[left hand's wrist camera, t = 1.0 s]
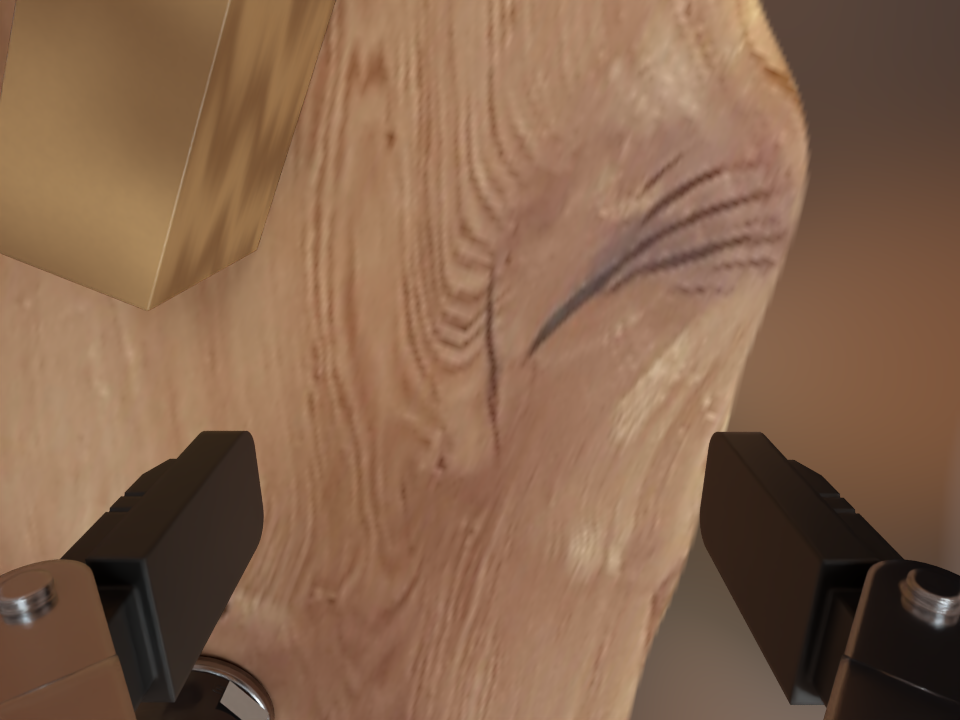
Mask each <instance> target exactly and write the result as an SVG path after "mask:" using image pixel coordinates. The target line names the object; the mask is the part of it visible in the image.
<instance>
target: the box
mask: <svg viewBox="0 0 960 720" xmlns="http://www.w3.org/2000/svg"><path fill="white" fill-rule="evenodd" d="M335 1H336V0H16V3H15V9H14V15H13V21H12V27H11V34H10V40H9V46H8V52H7V59H6V65H5V71H4V77H3V83H2V90H1V96H0V253H1V254H3V255H6V256H8V257H11V258H13V259H16V260H18V261H21V262H24V263H26V264H29V265H31V266H34V267H36V268H39V269H41V270H44V271H46V272H49V273H52V274H54V275H57V276H59V277H62V278H64V279H67V280H69V281H72V282H75V283H77V284H80V285H82V286H85V287H87V288H90V289H92V290H95V291H97V292H100V293H103V294H105V295H108V296H110V297H113V298H115V299H118V300H120V301H123V302H125V303H128V304H131V305H133V306H136V307H138V308H141V309H143V310H146V311H149V310H151V309H153V308H155V307H156V306H158V305H160V304H162V303H163V302H165V301H167V300H169V299H171V298H172V297H174V296H176V295H178V294H179V293H181V292H183V291H185V290H187V289H188V288H190V287H192V286H194V285H195V284H197V283H199V282H201V281H203V280H204V279H206V278H208V277H210V276H211V275H213V274H215V273H217V272H219V271H220V270H222V269H224V268H226V267H227V266H229V265H231V264H233V263H235V262H236V261H238V260H240V259H242V258H243V257H245V256H247V255H249V254H251V253H252V252H254V251H256V250H257V247H258V244H259V241H260V238H261V235H262V232H263V228H264V225H265V222H266V219H267V216H268V213H269V209H270V206H271V203H272V200H273V197H274V194H275V190H276V187H277V184H278V181H279V178H280V175H281V172H282V168H283V165H284V162H285V159H286V156H287V153H288V149H289V146H290V143H291V140H292V137H293V134H294V130H295V127H296V124H297V121H298V118H299V115H300V111H301V108H302V105H303V102H304V99H305V96H306V92H307V89H308V86H309V83H310V80H311V77H312V74H313V70H314V67H315V64H316V61H317V58H318V55H319V51H320V48H321V45H322V42H323V39H324V36H325V32H326V29H327V26H328V23H329V20H330V17H331V13H332V10H333V7H334V4H335Z"/></svg>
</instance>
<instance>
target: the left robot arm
mask: <svg viewBox="0 0 960 720" xmlns="http://www.w3.org/2000/svg"><path fill="white" fill-rule="evenodd" d="M263 518H264V514H263V503H262V496H261V488H260V481H259V474H258V466H257V459H256V452H255V445H254V440H253V438H252V435H251V434H250V433H249V432H248V431H203V432H201V433H200V434H199V435H198V436H197V437H196V438H195V439H194V440H193V442H192V443H191V444H190V445H189V446H188V447H187V448H186V449H185V450H184V451H183V452H182V453H181V455H180V456H179V457H178V458H177V459H169V460H167V461H165V462H163V463H162V464H160V465H158V466H156V467H155V468H153V469H151V470H149V471H148V472H146V473H144V474H142V475H141V477H140V478H139V479H138V480H137V481H136V482H135V483H134V484H133V485H132V486H131V487H130V488H129V489H128V490H127V491H126V492H125V496H121V497H120V498H119V499H118V500H117V501H116V502H115V503H114V504H113V505H112V506H111V507H110V511H109V512H105V513H104V514H103V515H102V517H101V518H100V519H99V520H98V521H97V522H96V523H95V524H94V525H93V526H92V527H91V528H90V529H89V530H88V531H87V532H86V533H85V534H84V535H83V536H82V537H81V538H80V539H79V540H78V541H77V542H76V543H75V544H74V545H73V546H72V547H71V548H70V549H69V550H68V551H67V552H66V553H65V554H64V556H63V557H62V558H61V559H60V560H48V561H42V562H38V563H33V564H30V565H26V566H23V567H20V568H17V569H15V570H12V571H10V572H7V573H5V574H3V575H1V576H0V720H274V709H273V705H272V702H271V700H270V697H269V696H268V694H267V692H266V691H265V689H264V688H263V687H262V686H261V684H260V683H259V682H258V681H257V680H256V679H255V678H253V677H252V676H251V675H250V674H248V673H247V672H245V671H244V670H242V669H240V668H238V667H236V666H234V665H232V664H230V663H227V662H225V661H221V660H218V659H214V658H209V657H202V656H200V654H201V652H202V650H203V648H204V646H205V644H206V642H207V641H208V639H209V637H210V635H211V633H212V631H213V629H214V627H215V625H216V624H217V622H218V620H219V618H220V616H221V614H222V612H223V610H224V609H225V607H226V605H227V603H228V601H229V599H230V597H231V595H232V594H233V592H234V590H235V588H236V586H237V584H238V582H239V580H240V578H241V577H242V575H243V573H244V571H245V569H246V567H247V565H248V563H249V562H250V560H251V558H252V556H253V554H254V552H255V550H256V548H257V546H258V544H259V542H260V538H261V534H262V529H263ZM700 528H701V534H702V538H703V542H704V545H705V547H706V549H707V551H708V553H709V554H710V556H711V558H712V560H713V562H714V564H715V566H716V567H717V569H718V571H719V573H720V575H721V577H722V579H723V580H724V582H725V584H726V586H727V588H728V590H729V592H730V593H731V595H732V597H733V599H734V601H735V603H736V605H737V606H738V608H739V610H740V612H741V614H742V616H743V618H744V619H745V621H746V623H747V625H748V627H749V629H750V631H751V632H752V634H753V636H754V638H755V640H756V642H757V644H758V645H759V647H760V649H761V651H762V653H763V655H764V657H765V658H766V660H767V662H768V664H769V666H770V668H771V670H772V671H773V673H774V675H775V677H776V679H777V681H778V683H779V684H780V686H781V688H782V690H783V692H784V694H785V696H786V697H787V699H788V701H789V703H790V705H825V706H826V708H827V709H826V713H825V716H824V719H823V720H960V576H959V575H957V574H955V573H952V572H950V571H948V570H945V569H942V568H940V567H937V566H934V565H930V564H927V563H922V562H918V561H912V560H904V559H903V558H902V557H901V556H900V555H899V554H898V553H897V552H896V551H895V550H894V549H893V548H892V547H891V546H890V545H889V544H888V543H887V541H886V540H885V539H884V538H883V537H882V536H881V535H880V534H879V533H878V532H877V531H876V530H875V529H874V528H873V527H872V526H871V525H870V524H869V523H868V522H867V521H866V520H865V519H864V518H863V517H862V516H861V515H860V514H856V513H855V509H854V508H853V507H852V506H851V505H850V504H849V503H848V502H847V501H846V500H845V499H844V498H840V494H839V493H838V492H837V491H836V490H835V489H834V488H833V487H832V486H831V485H830V484H829V483H828V482H827V481H826V479H825V478H824V477H822V476H821V475H820V474H818V473H816V472H814V471H813V470H811V469H809V468H807V467H806V466H804V465H802V464H800V463H799V462H797V461H795V460H787V459H786V458H785V457H784V456H783V455H782V453H781V452H780V451H779V450H778V449H777V448H776V447H775V446H774V445H773V444H772V443H771V442H770V440H769V439H768V438H767V437H766V436H765V435H764V434H763V433H761V432H715V433H714V434H713V436H712V437H711V440H710V443H709V449H708V456H707V463H706V470H705V478H704V485H703V492H702V499H701V507H700Z"/></svg>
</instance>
